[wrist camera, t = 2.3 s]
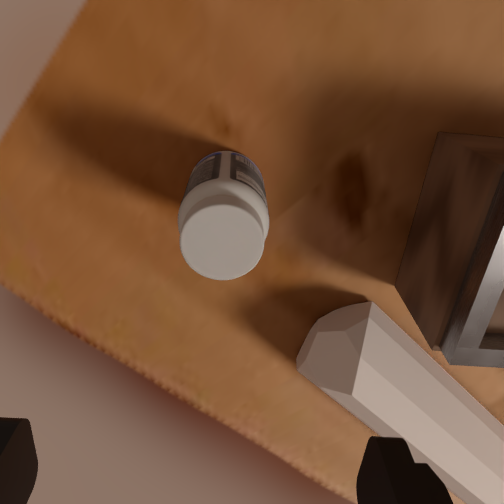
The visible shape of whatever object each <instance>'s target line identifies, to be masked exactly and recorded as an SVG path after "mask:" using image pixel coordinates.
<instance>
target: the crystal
mask: <svg viewBox="0 0 504 504" xmlns="http://www.w3.org/2000/svg"><path fill="white" fill-rule="evenodd" d="M364 337H365V338H364ZM362 346H363V347H362ZM361 351H362V352H361ZM359 360H360V361H359ZM296 364H297V371H298V372H299V373H301V374H302V375H303V376H305V377H306V378H307V379H308V380H310V381H311V382H312V383H313V384H315V385H316V386H317V387H319V388H320V389H321V390H322V391H324V392H325V393H326V394H327V395H329V396H330V397H331V398H332V399H334V400H335V401H336V402H338V403H339V404H340V405H341V406H343V407H344V408H345V409H346V410H348V411H349V412H350V413H352V414H353V415H354V416H355V417H357V418H358V419H359V420H360V421H362V422H363V423H364V424H365V425H367V426H368V427H369V428H371V429H372V430H373V431H374V432H376V433H377V434H378V435H379V436H381V437H399V438H403V439H404V440H405V441H406V443H407V445H408V447H409V449H410V452H411V454H412V457H413V459H414V462H415V463H427V464H428V465H429V466H430V467H431V469H432V470H433V471H434V472H435V473H436V475H437V476H438V477H439V478H440V479H441V481H442V482H443V483H444V484H445V486H446V488H447V489H448V490H449V491H451V492H452V493H453V494H454V495H456V496H457V497H458V498H460V499H461V500H462V501H464V502H465V503H466V504H504V426H503V425H502V424H501V423H500V422H499V421H498V420H497V419H496V418H495V417H494V416H493V415H492V414H491V413H489V412H488V411H487V410H486V409H485V408H484V407H483V406H482V405H481V404H480V403H479V402H478V401H477V400H476V399H475V398H474V397H473V396H472V395H471V394H469V393H468V392H467V391H466V390H465V389H464V388H463V387H462V386H461V385H460V384H459V383H458V382H457V381H456V380H455V379H454V378H453V377H452V376H451V375H449V374H448V373H447V372H446V371H445V370H444V369H443V368H442V367H441V366H440V365H439V364H438V363H437V362H436V361H435V360H434V359H433V358H432V357H431V356H429V355H428V354H427V353H426V352H425V351H424V350H423V349H422V348H421V347H420V346H419V345H418V344H417V343H416V342H415V341H414V340H413V339H412V338H411V337H409V336H408V335H407V334H406V333H405V332H404V331H403V330H402V329H401V328H400V327H399V326H398V325H397V324H396V323H395V322H394V321H393V320H392V319H391V318H389V317H388V316H387V315H386V314H385V313H384V312H383V311H382V310H381V309H380V308H379V307H378V306H377V305H376V304H375V303H374V302H373V301H370V302H364V303H359V304H353V305H349V306H345V307H342V308H339V309H336V310H334V311H332V312H330V313H328V314H327V315H325V316H323V317H321V318H319V319H318V320H317V321H316V323H315V324H314V325H313V327H312V328H311V329H310V331H309V333H308V335H307V337H306V339H305V341H304V343H303V345H302V347H301V349H300V351H299V353H298V356H297V358H296ZM357 369H358V370H357Z"/></svg>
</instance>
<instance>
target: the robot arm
mask: <svg viewBox="0 0 504 504" xmlns="http://www.w3.org/2000/svg"><path fill="white" fill-rule="evenodd" d="M37 471H38V460H37V455H36V450H35V445H34V440H33V435H32V430H31V425H30V422H29V420H28V419H24V418H2V417H0V504H27V501H28V499H29V497H30V495H31V493H32V490H33V488H34V485H35V481H36V477H37ZM356 489H357V500H358V504H453V502H452V500H451V497H450V495H449V493H448V491H447V488H446V486H445V484H444V483H443V482H442V481H441V479H440V478H439V477H438V476H437V475H436V473H435V472H434V471H433V470H432V469H431V467H430V466H429V465H428V464H427V463H415V462H414V459H413V457H412V454H411V452H410V449H409V447H408V445H407V443H406V441H405V440H404V439H403V438H399V437H378V436H371V437H370V438H369V440H368V443H367V446H366V450H365V453H364V456H363V460H362V463H361V466H360V469H359V473H358V476H357V486H356Z"/></svg>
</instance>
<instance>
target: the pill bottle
mask: <svg viewBox="0 0 504 504" xmlns="http://www.w3.org/2000/svg"><path fill="white" fill-rule="evenodd" d="M178 228H179V232H180V249H181V252H182V255H183V257H184V259H185V261H186V262H187V264H188V265H189V266H190V267H191V268H192V269H193V270H194V271H196V272H197V273H199V274H200V275H202V276H205V277H207V278H211V279H215V280H230V279H235V278H238V277H240V276H242V275H244V274H246V273H248V272H249V271H250V270H252V269H253V268H254V267H255V266H256V264H257V263H258V261H259V260H260V258H261V255H262V253H263V249H264V241H265V239H266V237H267V233H268V229H269V213H268V207H267V201H266V194H265V188H264V182H263V178H262V175H261V173H260V171H259V169H258V167H257V166H256V165H255V164H254V163H253V162H252V161H251V160H250V159H249V158H248V157H246V156H244V155H242V154H240V153H237V152H232V151H218V152H214V153H211V154H209V155H207V156H206V157H204V158H203V159H202V160H200V161H199V162H198V164H197V165H196V166H195V168H194V169H193V171H192V173H191V176H190V178H189V181H188V184H187V187H186V191H185V194H184V197H183V200H182V202H181V205H180V208H179V213H178Z"/></svg>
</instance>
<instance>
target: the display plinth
mask: <svg viewBox="0 0 504 504" xmlns="http://www.w3.org/2000/svg"><path fill="white" fill-rule="evenodd" d="M395 288H396V289H397V291H398V293H399V295H400V296H401V298H402V300H403V301H404V303H405V305H406V307H407V308H408V310H409V312H410V313H411V315H412V317H413V319H414V320H415V322H416V324H417V325H418V327H419V329H420V330H421V332H422V334H423V336H424V337H425V339H426V341H427V342H428V344H429V346H430V348H431V349H432V350H434V351H442V353H443V355H444V356H445V358H446V359H447V361H448V363H449V364H450V365H464V366H481V367H498V368H504V138H501V137H490V136H479V135H468V134H456V133H445V132H438V135H437V138H436V142H435V145H434V149H433V152H432V156H431V159H430V163H429V166H428V170H427V173H426V177H425V181H424V184H423V188H422V191H421V195H420V198H419V202H418V205H417V209H416V212H415V216H414V219H413V223H412V226H411V230H410V234H409V237H408V241H407V244H406V248H405V251H404V255H403V258H402V262H401V265H400V269H399V272H398V276H397V280H396V283H395Z"/></svg>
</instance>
